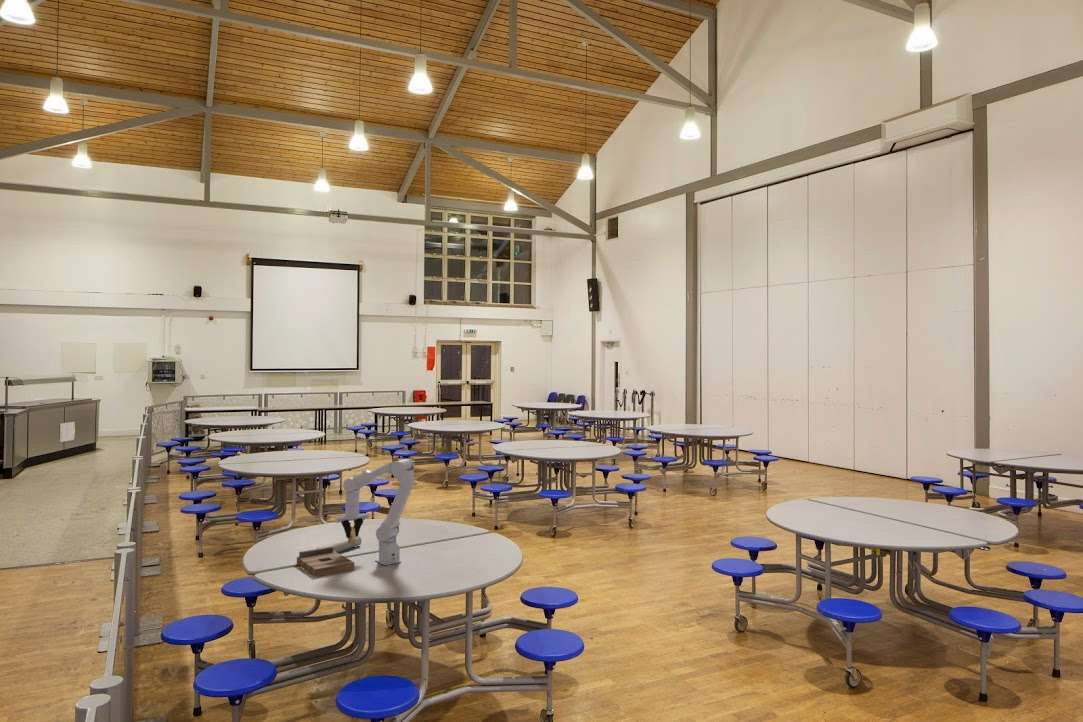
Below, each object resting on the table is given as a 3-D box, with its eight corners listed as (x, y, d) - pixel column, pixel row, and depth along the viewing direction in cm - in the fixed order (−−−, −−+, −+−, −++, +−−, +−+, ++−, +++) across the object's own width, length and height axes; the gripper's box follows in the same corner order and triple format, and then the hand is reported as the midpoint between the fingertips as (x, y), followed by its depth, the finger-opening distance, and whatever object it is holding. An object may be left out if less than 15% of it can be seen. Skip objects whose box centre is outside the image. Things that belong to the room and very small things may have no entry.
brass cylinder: (357, 542, 289) (357, 526, 289) (349, 543, 287) (350, 527, 287) (354, 541, 291) (354, 525, 291) (347, 542, 289) (347, 526, 290)
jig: (354, 569, 272) (354, 557, 272) (315, 577, 262) (315, 564, 262) (334, 557, 289) (334, 546, 289) (296, 564, 279) (296, 552, 279)
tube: (321, 551, 286) (362, 537, 308) (313, 545, 288) (354, 532, 310) (318, 562, 287) (360, 548, 309) (310, 556, 289) (351, 543, 311)
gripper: (364, 502, 297) (364, 532, 297) (332, 506, 288) (332, 537, 288) (371, 504, 291) (370, 535, 291) (338, 508, 283) (338, 540, 282)
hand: (352, 537), depth 289 cm, fingers closed on brass cylinder, 3 cm apart
